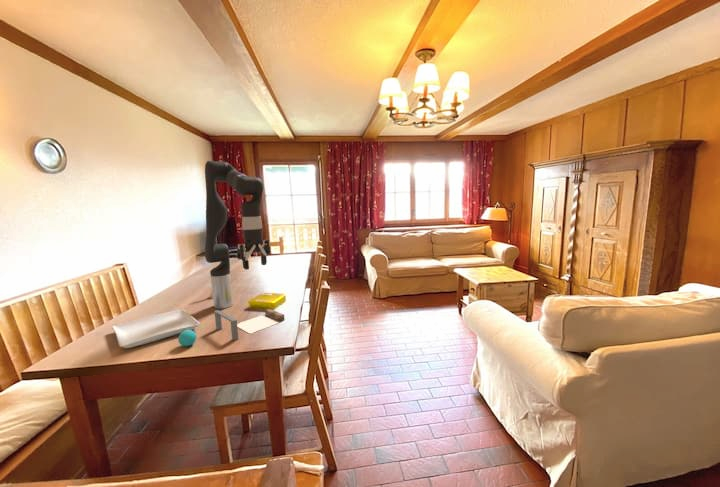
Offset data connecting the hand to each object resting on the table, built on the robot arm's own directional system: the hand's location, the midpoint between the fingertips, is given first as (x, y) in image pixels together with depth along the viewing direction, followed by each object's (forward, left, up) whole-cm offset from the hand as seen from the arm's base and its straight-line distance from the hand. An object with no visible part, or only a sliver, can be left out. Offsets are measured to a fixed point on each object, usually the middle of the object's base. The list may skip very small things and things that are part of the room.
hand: (255, 267), depth 119 cm
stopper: (-8, +12, -28) cm, 31 cm away
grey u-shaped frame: (-9, -10, -28) cm, 31 cm away
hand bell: (-64, +9, -28) cm, 70 cm away
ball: (-11, -24, -25) cm, 36 cm away
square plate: (-36, -28, -29) cm, 54 cm away
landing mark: (-8, +3, -28) cm, 29 cm away
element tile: (-27, +20, -29) cm, 44 cm away
